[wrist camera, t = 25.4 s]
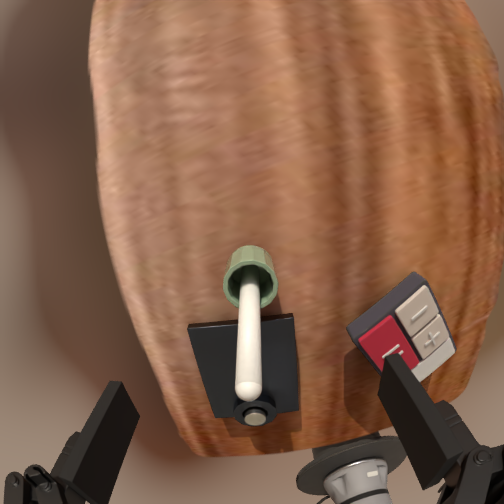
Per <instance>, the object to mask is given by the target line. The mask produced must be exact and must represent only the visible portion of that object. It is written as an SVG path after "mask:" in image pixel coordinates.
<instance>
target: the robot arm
mask: <svg viewBox="0 0 504 504" xmlns="http://www.w3.org/2000/svg"><path fill="white" fill-rule="evenodd" d="M378 396H379V398H380V400H381V402H382V404H383V406H384V408H385V410H386V412H387V414H388V416H389V418H390V420H391V422H392V424H393V426H394V428H395V430H396V433H397V434H398V437H399V439H400V441H401V443H402V445H403V447H404V449H405V452H406V454H407V456H408V458H409V460H410V462H411V465H412V467H413V469H414V471H415V473H416V476H417V478H418V480H419V483H420V484H421V487H422V490H425V489H427V488H429V487H432V486H433V485H436V484H438V483H439V482H440V480H441V479H442V478H444V479H445V483H444V484H443V485H442V486H441V488H440V489H439V490H438V493H440V492H441V491H442V492H441V494H440V497H439V500H438V502H437V504H504V445H500V446H497V447H493V448H490V447H488V446H485V445H480V444H479V443H478V442H477V441H476V439H475V438H474V437H473V435H472V433H471V432H470V431H469V429H468V427H467V426H466V425H465V423H464V422H463V421H462V419H461V417H460V416H459V415H458V413H457V412H456V410H455V409H454V407H453V406H452V405H451V404H449V403H448V402H446V401H444V400H442V401H440V402H438V403H435V404H434V403H433V401H432V400H431V398H430V397H429V395H428V394H427V392H426V391H425V389H424V388H423V386H422V385H421V384H420V382H419V381H418V379H417V378H416V376H415V375H414V374H413V372H412V371H411V369H410V368H409V367H408V365H407V364H406V362H405V361H404V360H403V358H402V357H401V356H400V354H399V353H395V354H391V355H387V356H385V358H384V364H383V370H382V376H381V381H380V386H379V391H378ZM139 418H140V415H139V414H138V412H137V410H136V408H135V406H134V404H133V403H132V401H131V399H130V397H129V395H128V393H127V391H126V389H125V387H124V385H123V383H122V382H118V381H110V382H109V383H108V385H107V387H106V389H105V390H104V392H103V394H102V395H101V397H100V399H99V401H98V402H97V404H96V406H95V408H94V409H93V411H92V413H91V415H90V417H89V418H88V420H87V422H86V424H85V426H84V428H83V429H82V431H81V433H80V432H75V433H74V434H73V435H72V436H70V438H69V439H68V441H67V442H66V444H65V447H64V448H63V450H62V453H61V454H60V455H59V457H58V459H57V461H56V463H55V465H54V467H53V469H52V471H51V473H50V474H49V473H48V472H47V471H46V470H45V469H44V468H42V467H41V466H40V465H37V464H36V465H31V466H29V467H28V468H27V469H26V470H25V472H24V477H23V476H22V475H21V474H20V473H18V472H11V473H10V474H8V476H7V477H6V480H5V490H4V504H85V501H87V502H89V503H90V504H108V503H109V500H110V497H111V494H112V491H113V488H114V485H115V482H116V480H117V477H118V474H119V471H120V468H121V466H122V463H123V460H124V457H125V455H126V452H127V449H128V446H129V444H130V441H131V439H132V436H133V433H134V430H135V428H136V425H137V423H138V420H139ZM387 471H388V467H387V463H386V460H385V458H383V457H380V456H371V457H365V458H361V459H357V460H354V461H351V462H348V463H346V464H343V465H341V466H339V467H337V468H335V469H333V470H332V471H330V472H329V473H328V474H327V475H326V476H325V477H324V478H323V485H324V488H325V490H326V491H327V493H328V494H329V495H328V496H326V497H324V498H323V499H321V500H320V501H319V502H318V503H317V504H320V503H322V502H323V501H324V500H325V499H328V498H330V497H331V499H332V500H333V501H334V503H335V504H392V501H391V498H390V495H389V492H388V490H387Z"/></svg>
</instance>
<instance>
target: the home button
mask: <svg viewBox="0 0 504 504" xmlns="http://www.w3.org/2000/svg"><path fill="white" fill-rule="evenodd" d="M244 419H245V422H246V423H247V424H249V425H261V424H263V423H264V422H265V421H266V412H265V410H264V409H263V408H261V407H257V406H256V407H249V408H247V409H246V410H245V418H244Z"/></svg>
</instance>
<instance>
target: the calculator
mask: <svg viewBox="0 0 504 504" xmlns="http://www.w3.org/2000/svg"><path fill="white" fill-rule="evenodd" d="M346 329H347V332H348V333H349V335H350V337H351V339H352V341H353V342H354V344H355V345H356V346H357V347H358V349H359V350H360V351H361V352H362V353H363V355H364V356H365V357H366V358H367V360H368V361H369V362H370V363H371V365H372V366H373V367H374V368H375V370H376V371H377V372H378V373H379V375H380V376H382V370H383V364H384V358H385V356H387V355H391V354H395V353H399V354H400V356H401V357H402V358H403V360H404V361H405V362H406V364H407V365H408V367H409V368H410V369H411V371H412V372H413V374H414V375H415V376H416V378H417V379H418V381H419V382H421V381H422V380H423V379H425V378H426V377H427V376H428V375H430V374H431V373H432V372H433V371H434V370H436V369H437V368H438V367H439V366H440V365H442V364H443V363H444V362H445V361H446V360H447V359H448V358H449V357H451V356H452V355H453V354H454V353H455V351H456V346H455V343H454V341H453V338H452V336H451V333H450V331H449V328H448V326H447V323H446V321H445V319H444V316H443V314H442V312H441V309H440V307H439V305H438V303H437V300H436V298H435V296H434V294H433V292H432V290H431V288H430V286H429V284H428V282H427V280H426V279H424V278H423V277H422V276H420V275H419V274H417V273H416V272H412V273H411V274H410V275H408V276H407V277H406V278H405V279H404V280H403V281H402V282H401V283H399V284H398V285H397V286H396V287H395V288H394V289H392V290H391V291H390V292H389V293H388V294H387V295H385V296H384V297H383V298H382V299H381V300H379V301H378V302H377V303H376V304H374V305H373V306H372V307H371V308H369V309H368V310H367V311H366V312H364V313H363V314H362V315H361V316H359V317H358V318H357V319H355V320H354V321H353V322H352V323H350V324H349V325H348V326H347V327H346Z"/></svg>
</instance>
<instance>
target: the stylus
mask: <svg viewBox="0 0 504 504" xmlns="http://www.w3.org/2000/svg"><path fill="white" fill-rule="evenodd" d="M235 391H236V394H237V396H238V397H239V398H241V399H242V400H245V401H252V400H255V399H257V398H258V397H259V396H260V394H261V392H262V364H261V323H260V286H259V269H258V267H257V266H256V265H253V264H252V265H244V266H243V267H242V269H241V281H240V300H239V318H238V338H237V358H236V379H235Z"/></svg>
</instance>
